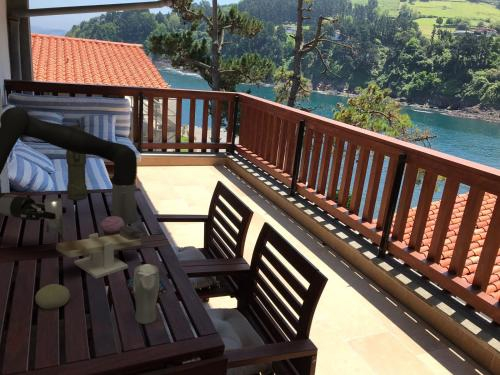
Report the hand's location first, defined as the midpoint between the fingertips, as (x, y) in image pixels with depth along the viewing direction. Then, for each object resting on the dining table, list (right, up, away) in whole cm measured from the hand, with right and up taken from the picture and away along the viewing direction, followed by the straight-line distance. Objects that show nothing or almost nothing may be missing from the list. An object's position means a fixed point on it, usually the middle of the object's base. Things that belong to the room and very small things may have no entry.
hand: (60, 213), depth 153 cm
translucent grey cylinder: (-3, -6, +2) cm, 7 cm away
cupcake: (+11, -12, +22) cm, 27 cm away
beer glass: (+35, -28, -27) cm, 52 cm away
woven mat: (+32, -24, -11) cm, 41 cm away
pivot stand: (+14, -18, +1) cm, 23 cm away
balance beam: (+14, -10, -1) cm, 18 cm away
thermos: (-20, +4, +68) cm, 71 cm away
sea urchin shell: (+8, -25, -23) cm, 34 cm away
